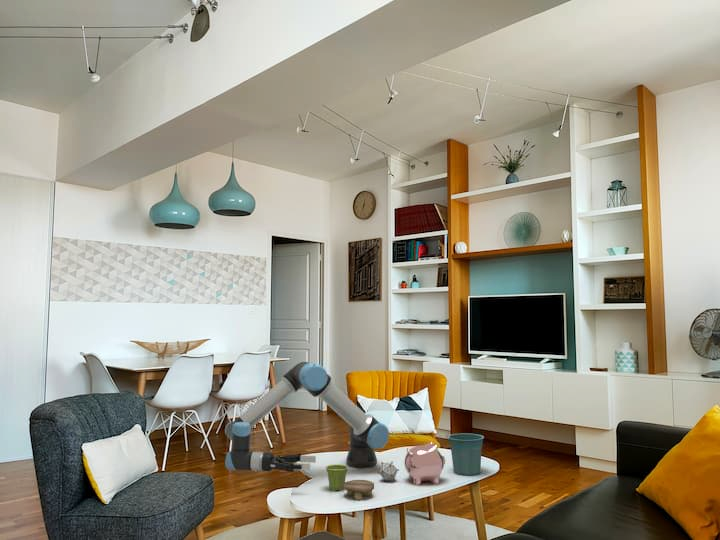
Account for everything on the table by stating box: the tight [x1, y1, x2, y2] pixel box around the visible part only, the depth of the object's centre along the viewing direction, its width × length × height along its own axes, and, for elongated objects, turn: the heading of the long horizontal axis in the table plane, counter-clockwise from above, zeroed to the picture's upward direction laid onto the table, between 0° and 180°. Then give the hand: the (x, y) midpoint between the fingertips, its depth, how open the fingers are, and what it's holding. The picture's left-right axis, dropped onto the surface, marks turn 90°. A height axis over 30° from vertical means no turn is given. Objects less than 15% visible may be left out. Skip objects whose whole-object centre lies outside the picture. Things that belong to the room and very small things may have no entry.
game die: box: [377, 460, 400, 483], centre depth 240 cm, size 9×8×10 cm
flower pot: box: [447, 432, 485, 476], centre depth 254 cm, size 16×16×16 cm
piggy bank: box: [404, 440, 446, 486], centre depth 240 cm, size 15×18×16 cm
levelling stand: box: [343, 479, 375, 501], centre depth 219 cm, size 12×12×4 cm
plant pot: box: [325, 464, 349, 491], centre depth 229 cm, size 9×9×9 cm
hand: (312, 462), depth 230 cm, fingers open, 13 cm apart
